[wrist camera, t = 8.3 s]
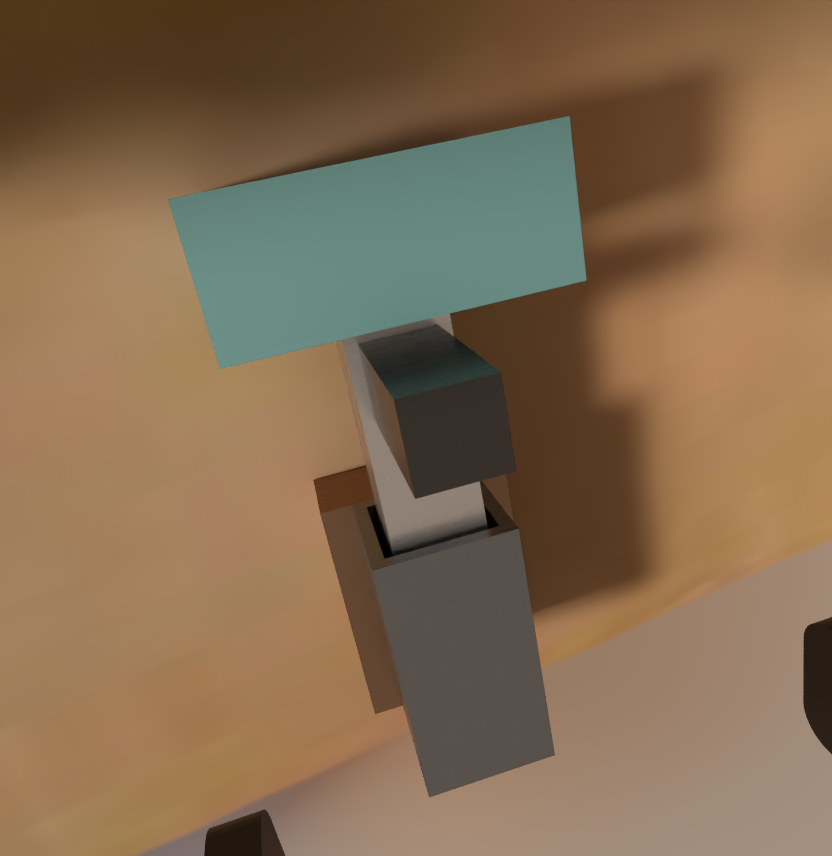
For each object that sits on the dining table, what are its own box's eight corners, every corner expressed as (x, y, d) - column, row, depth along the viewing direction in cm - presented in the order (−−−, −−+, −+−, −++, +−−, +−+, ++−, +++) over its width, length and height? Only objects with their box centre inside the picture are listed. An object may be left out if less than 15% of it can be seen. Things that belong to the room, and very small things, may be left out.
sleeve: (511, 620, 42) (585, 744, 32) (364, 665, 40) (396, 808, 31) (479, 435, 37) (554, 518, 28) (313, 480, 36) (334, 582, 27)
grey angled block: (472, 549, 34) (567, 708, 23) (391, 573, 33) (452, 746, 23) (407, 204, 28) (496, 216, 18) (308, 226, 27) (340, 252, 17)
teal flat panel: (199, 193, 31) (167, 199, 20) (461, 139, 32) (569, 115, 21) (231, 305, 32) (220, 369, 21) (478, 249, 34) (586, 280, 23)
